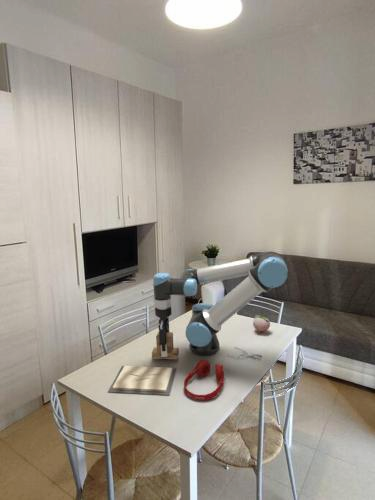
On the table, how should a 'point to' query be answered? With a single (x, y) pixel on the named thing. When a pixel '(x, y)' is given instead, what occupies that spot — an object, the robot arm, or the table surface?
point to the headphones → (203, 370)
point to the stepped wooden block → (171, 351)
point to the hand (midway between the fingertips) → (165, 353)
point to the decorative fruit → (261, 323)
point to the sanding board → (143, 380)
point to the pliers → (252, 355)
